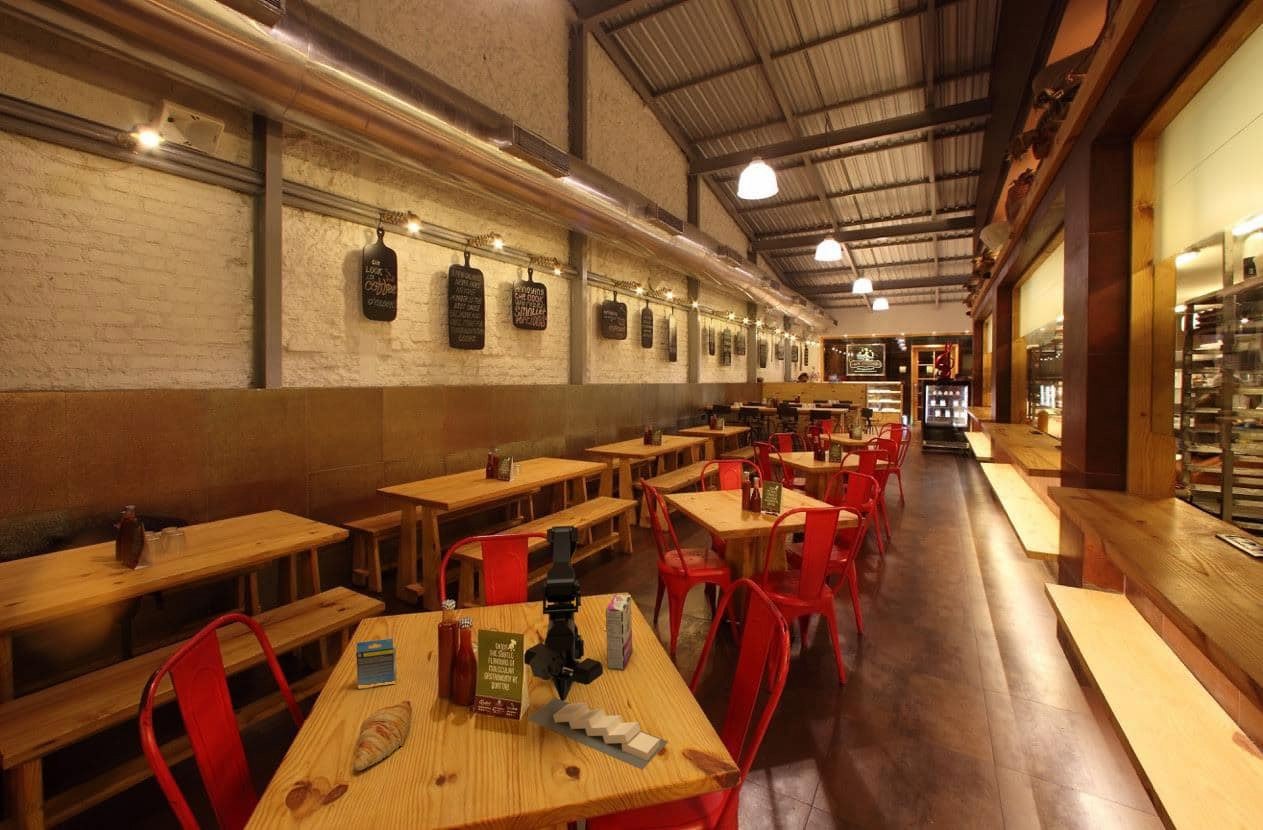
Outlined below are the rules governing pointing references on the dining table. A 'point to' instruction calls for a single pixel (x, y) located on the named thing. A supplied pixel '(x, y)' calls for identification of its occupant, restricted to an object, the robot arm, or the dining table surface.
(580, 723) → the domino
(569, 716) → the domino
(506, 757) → the dining table surface
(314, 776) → the dining table surface
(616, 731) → the domino
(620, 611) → the candy bar box
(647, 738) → the domino
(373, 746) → the croissant
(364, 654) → the label tape box
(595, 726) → the domino
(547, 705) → the metal plate
